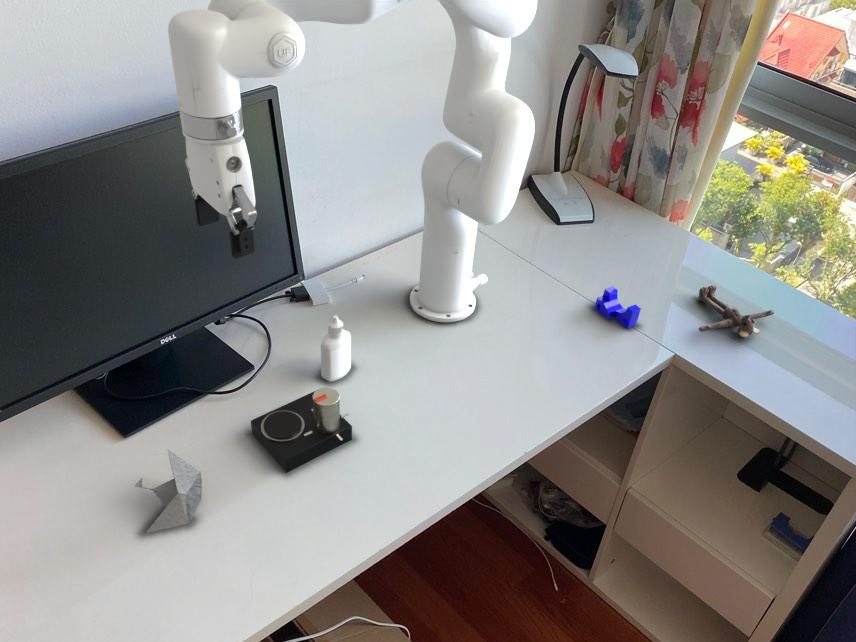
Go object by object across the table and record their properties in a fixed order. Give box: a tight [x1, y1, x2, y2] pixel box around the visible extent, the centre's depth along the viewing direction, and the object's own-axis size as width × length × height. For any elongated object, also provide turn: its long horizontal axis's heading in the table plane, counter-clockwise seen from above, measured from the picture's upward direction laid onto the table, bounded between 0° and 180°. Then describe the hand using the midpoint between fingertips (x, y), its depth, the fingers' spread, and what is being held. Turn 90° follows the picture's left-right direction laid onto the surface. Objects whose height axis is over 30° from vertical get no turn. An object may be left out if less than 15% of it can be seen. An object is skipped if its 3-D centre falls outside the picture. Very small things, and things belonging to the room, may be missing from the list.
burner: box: [261, 411, 305, 442], centre depth 123 cm, size 7×7×1 cm
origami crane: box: [134, 448, 203, 534], centre depth 113 cm, size 12×6×9 cm
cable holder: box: [594, 286, 642, 329], centre depth 154 cm, size 8×4×4 cm, turn 32°
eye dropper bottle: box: [320, 314, 352, 383], centre depth 134 cm, size 4×6×12 cm
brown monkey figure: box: [698, 284, 776, 338], centre depth 156 cm, size 18×4×14 cm
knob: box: [313, 386, 341, 434], centre depth 122 cm, size 4×4×6 cm
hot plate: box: [250, 390, 353, 474], centre depth 125 cm, size 13×12×3 cm
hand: (225, 238), depth 112 cm, fingers open, 9 cm apart
